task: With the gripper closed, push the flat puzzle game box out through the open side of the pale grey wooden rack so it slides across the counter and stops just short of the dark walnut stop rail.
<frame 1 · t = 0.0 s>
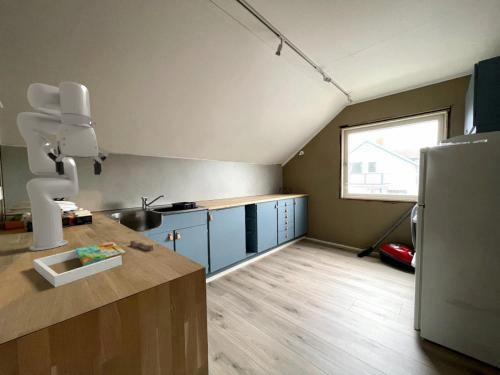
hand: (80, 174, 68), 31 cm above the worktop, tool pointing down, fingers open, 9 cm apart
puzzle game: (100, 261, 75), on the worktop
stop rail: (141, 247, 88), on the worktop
rack: (80, 265, 70), on the worktop
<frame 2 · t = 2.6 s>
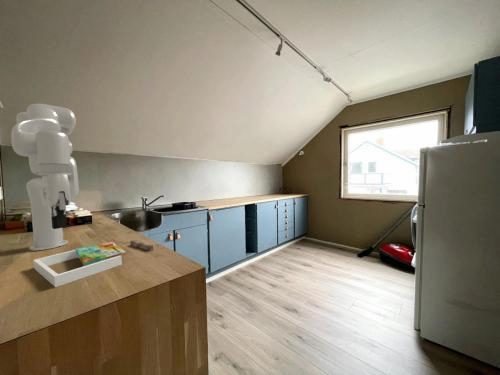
hand: (59, 227, 65), 14 cm above the worktop, tool pointing down, fingers closed
nothing on the worktop moved.
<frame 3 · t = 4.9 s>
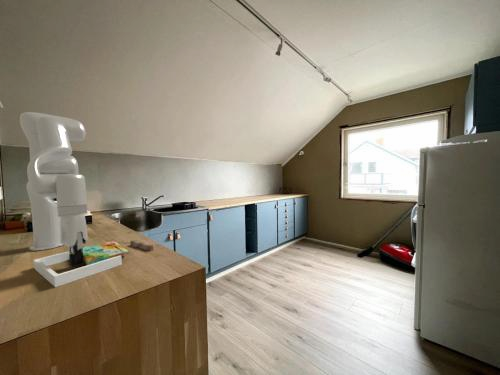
hand: (76, 264, 69), 1 cm above the worktop, tool pointing down, fingers closed
puzzle game: (103, 260, 76), on the worktop, touching gripper
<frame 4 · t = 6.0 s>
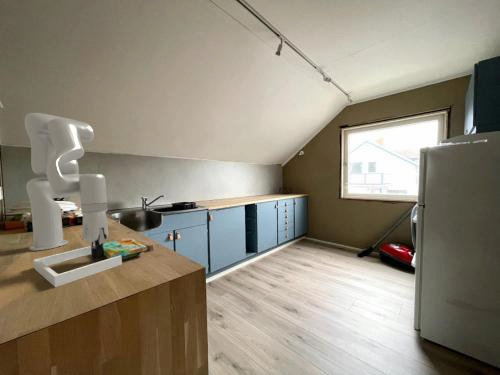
hand: (97, 258, 74), 1 cm above the worktop, tool pointing down, fingers closed
puzzle game: (121, 255, 80), on the worktop, touching gripper
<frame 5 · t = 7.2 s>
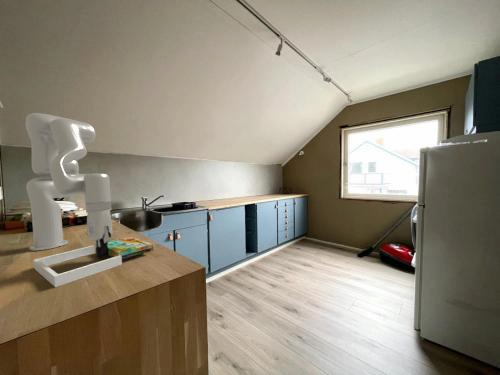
hand: (102, 256, 75), 1 cm above the worktop, tool pointing down, fingers closed
puzzle game: (125, 253, 81), on the worktop, touching rack, stop rail
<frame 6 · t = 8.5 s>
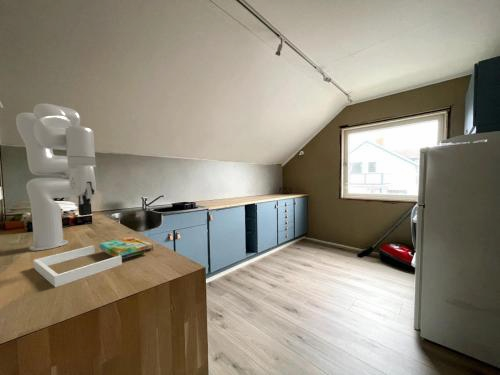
hand: (85, 214, 72), 17 cm above the worktop, tool pointing down, fingers closed
nothing on the worktop moved.
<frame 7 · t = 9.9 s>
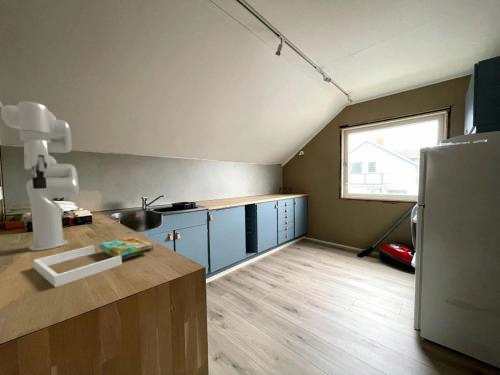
hand: (39, 188, 75), 27 cm above the worktop, tool pointing down, fingers closed
nothing on the worktop moved.
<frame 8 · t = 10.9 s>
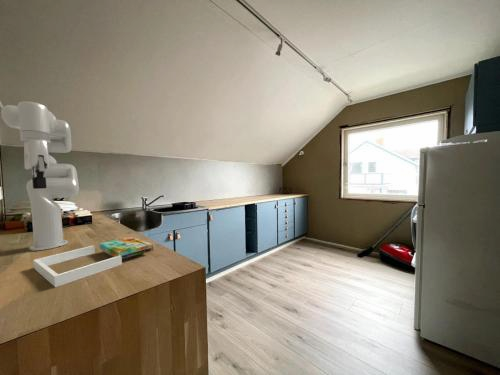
hand: (39, 188, 75), 27 cm above the worktop, tool pointing down, fingers closed
nothing on the worktop moved.
at the end: puzzle game inside the target area (1.5 cm from its centre), on the worktop; puzzle game tilted 0° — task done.
